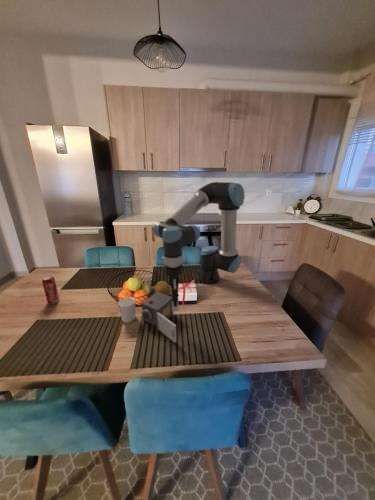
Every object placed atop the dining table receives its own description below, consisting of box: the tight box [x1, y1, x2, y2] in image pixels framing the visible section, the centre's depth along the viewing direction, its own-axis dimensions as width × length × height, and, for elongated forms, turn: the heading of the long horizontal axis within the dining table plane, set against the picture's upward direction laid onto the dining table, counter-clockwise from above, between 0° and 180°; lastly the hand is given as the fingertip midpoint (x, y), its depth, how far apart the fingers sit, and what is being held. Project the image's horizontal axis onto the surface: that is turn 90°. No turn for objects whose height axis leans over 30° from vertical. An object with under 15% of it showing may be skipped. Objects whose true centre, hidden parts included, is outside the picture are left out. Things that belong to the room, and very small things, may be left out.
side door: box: [156, 312, 177, 343], centre depth 92 cm, size 12×2×9 cm, turn 45°
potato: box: [154, 280, 171, 296], centre depth 122 cm, size 10×13×9 cm
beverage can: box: [41, 275, 60, 305], centre depth 115 cm, size 6×6×15 cm
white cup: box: [118, 296, 137, 324], centre depth 103 cm, size 8×8×10 cm
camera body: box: [141, 292, 174, 328], centre depth 103 cm, size 14×10×11 cm
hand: (175, 310), depth 95 cm, fingers closed
